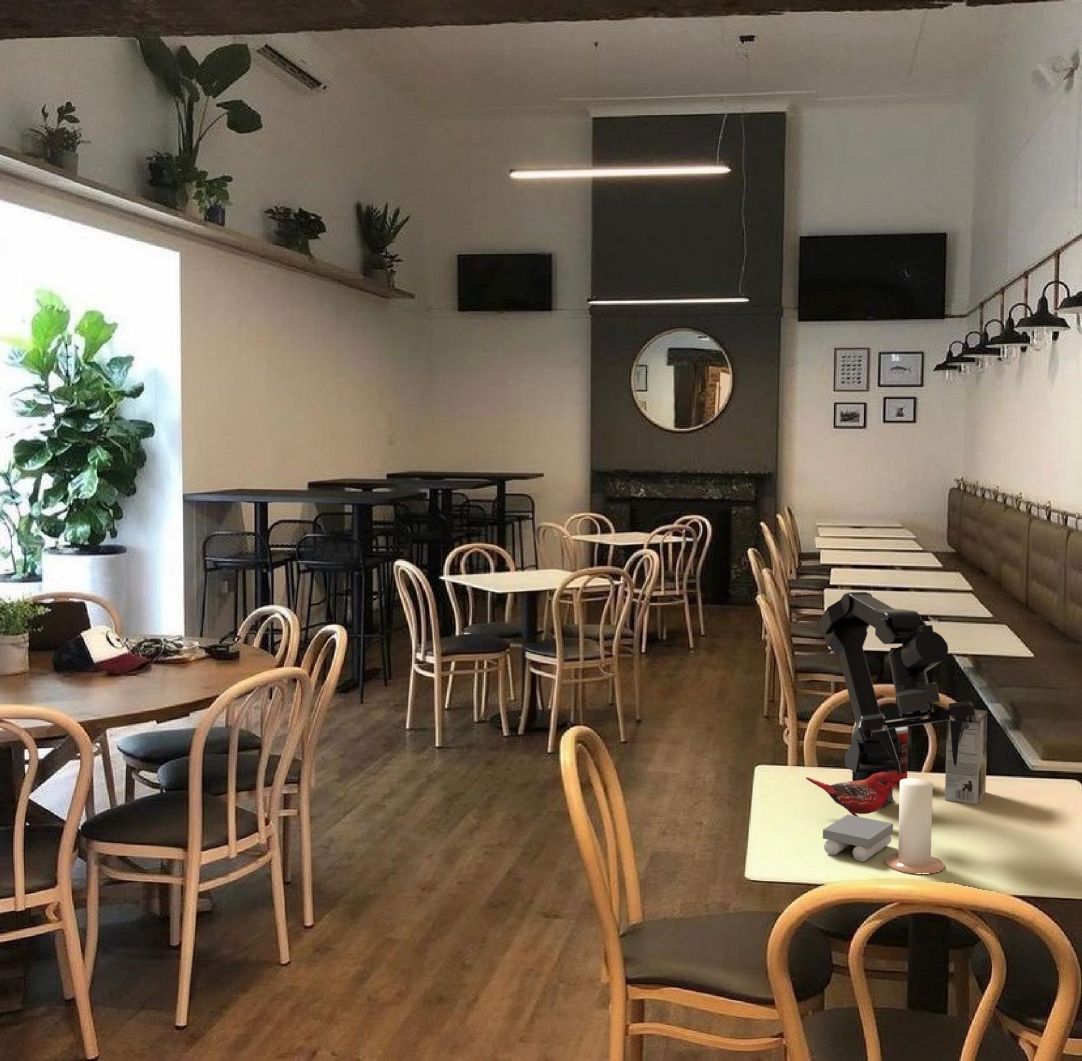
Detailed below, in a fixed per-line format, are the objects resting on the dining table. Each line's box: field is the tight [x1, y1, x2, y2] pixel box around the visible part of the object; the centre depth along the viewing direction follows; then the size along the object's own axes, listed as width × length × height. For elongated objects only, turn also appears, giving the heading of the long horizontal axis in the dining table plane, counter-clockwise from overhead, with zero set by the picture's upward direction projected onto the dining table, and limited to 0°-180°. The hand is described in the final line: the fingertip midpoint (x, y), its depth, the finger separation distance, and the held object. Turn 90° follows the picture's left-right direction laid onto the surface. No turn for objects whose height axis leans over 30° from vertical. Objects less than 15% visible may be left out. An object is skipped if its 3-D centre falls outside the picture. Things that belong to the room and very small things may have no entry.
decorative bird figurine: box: [805, 772, 898, 817], centre depth 218 cm, size 3×18×10 cm, turn 50°
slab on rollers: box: [822, 814, 894, 863], centre depth 203 cm, size 8×10×4 cm
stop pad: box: [884, 852, 945, 875], centre depth 196 cm, size 9×9×1 cm
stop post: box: [897, 777, 934, 868], centre depth 196 cm, size 5×5×13 cm
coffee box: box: [944, 708, 988, 805], centre depth 232 cm, size 9×6×16 cm
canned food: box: [890, 726, 909, 786], centre depth 243 cm, size 8×8×11 cm
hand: (927, 769), depth 207 cm, fingers open, 9 cm apart
